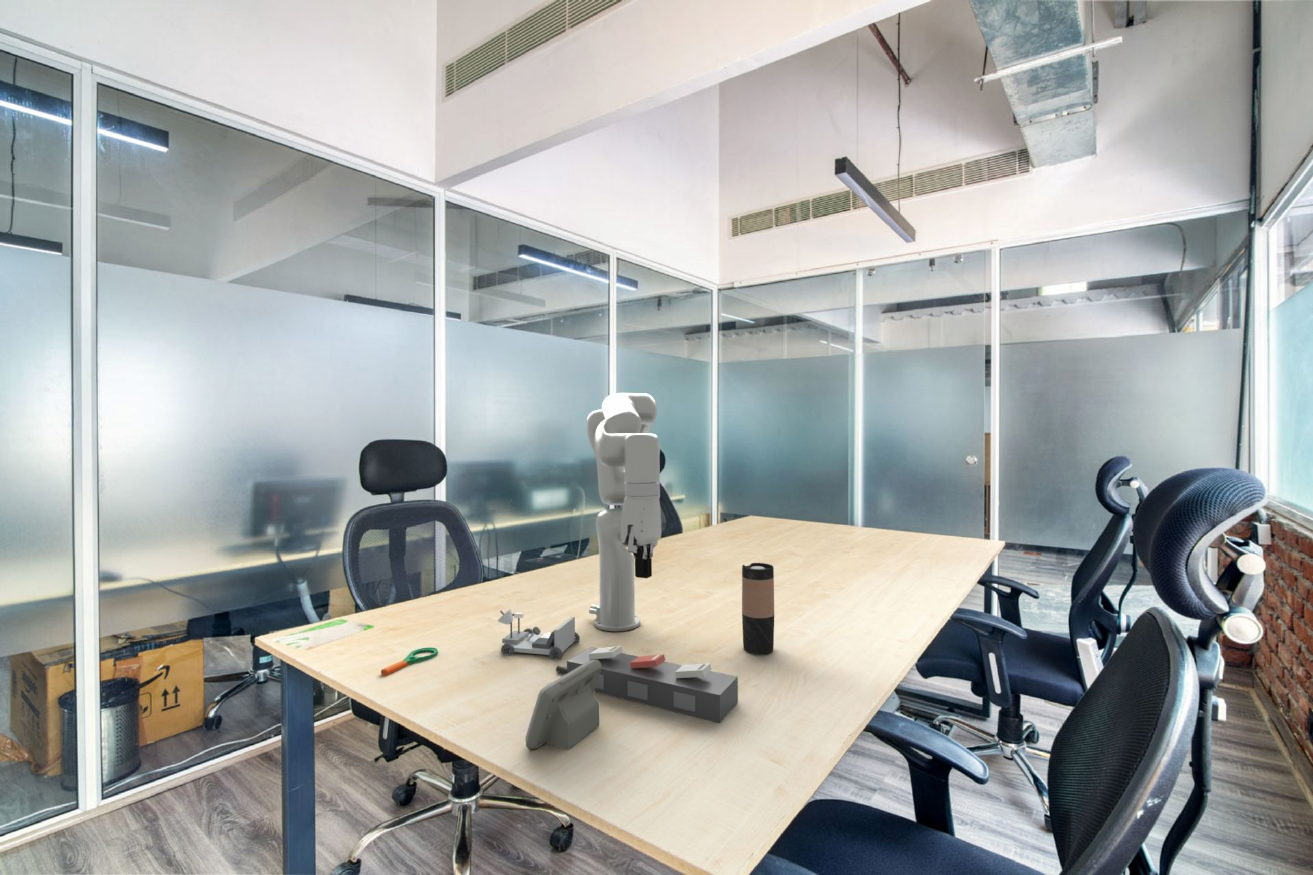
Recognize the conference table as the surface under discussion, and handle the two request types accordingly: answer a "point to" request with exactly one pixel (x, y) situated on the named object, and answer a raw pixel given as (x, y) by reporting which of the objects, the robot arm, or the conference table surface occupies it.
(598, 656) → the rocker left
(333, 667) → the conference table surface
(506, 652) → the toy car
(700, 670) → the rocker right
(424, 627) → the conference table surface
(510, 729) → the conference table surface
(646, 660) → the rocker middle
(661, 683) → the power strip
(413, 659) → the magnifying glass
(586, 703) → the digital clock
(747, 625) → the travel mug
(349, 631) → the conference table surface
